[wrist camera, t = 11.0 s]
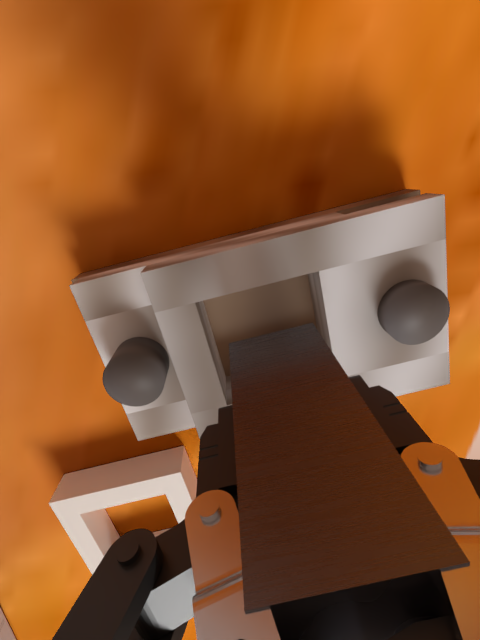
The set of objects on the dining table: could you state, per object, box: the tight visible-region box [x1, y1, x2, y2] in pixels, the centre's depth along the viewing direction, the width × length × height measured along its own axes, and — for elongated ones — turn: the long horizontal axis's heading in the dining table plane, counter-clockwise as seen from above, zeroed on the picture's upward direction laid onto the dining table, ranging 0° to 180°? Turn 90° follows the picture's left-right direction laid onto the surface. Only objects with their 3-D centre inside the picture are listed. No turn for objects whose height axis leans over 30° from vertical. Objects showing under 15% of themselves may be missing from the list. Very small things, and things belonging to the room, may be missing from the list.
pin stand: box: [49, 446, 197, 575], centre depth 26 cm, size 9×9×2 cm
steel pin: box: [229, 323, 470, 640], centre depth 11 cm, size 4×4×10 cm
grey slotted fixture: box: [69, 189, 450, 441], centre depth 20 cm, size 19×10×6 cm, turn 104°
